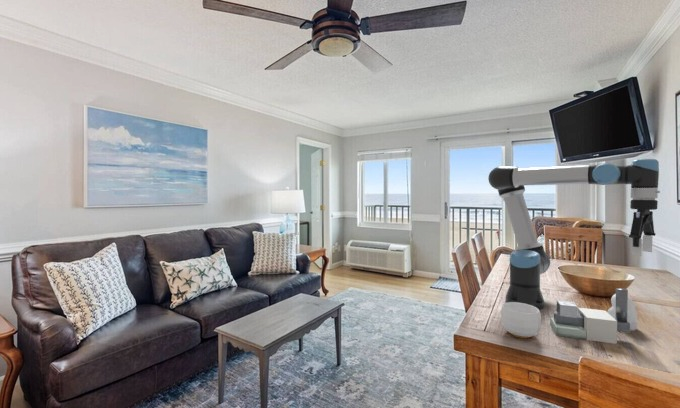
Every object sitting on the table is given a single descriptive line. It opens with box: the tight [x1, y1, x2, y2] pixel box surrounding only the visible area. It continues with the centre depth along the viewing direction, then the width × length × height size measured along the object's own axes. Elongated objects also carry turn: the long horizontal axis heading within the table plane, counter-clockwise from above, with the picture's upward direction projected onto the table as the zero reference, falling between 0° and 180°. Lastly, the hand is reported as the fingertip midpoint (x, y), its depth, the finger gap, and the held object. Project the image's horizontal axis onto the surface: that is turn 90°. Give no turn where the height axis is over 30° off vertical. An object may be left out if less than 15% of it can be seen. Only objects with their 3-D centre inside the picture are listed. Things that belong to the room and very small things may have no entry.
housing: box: [577, 307, 618, 345], centre depth 107 cm, size 8×10×8 cm
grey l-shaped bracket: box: [553, 287, 631, 334], centre depth 107 cm, size 20×3×14 cm, turn 67°
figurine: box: [607, 293, 638, 331], centre depth 114 cm, size 7×8×12 cm
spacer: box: [556, 300, 578, 318], centre depth 110 cm, size 5×5×4 cm
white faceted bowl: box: [500, 302, 542, 339], centre depth 108 cm, size 12×12×10 cm
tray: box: [549, 316, 586, 341], centre depth 110 cm, size 8×10×3 cm
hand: (641, 253), depth 121 cm, fingers open, 13 cm apart
